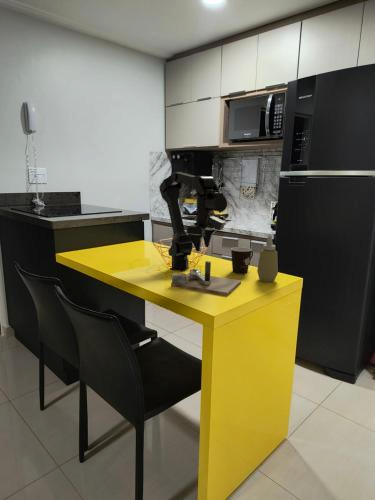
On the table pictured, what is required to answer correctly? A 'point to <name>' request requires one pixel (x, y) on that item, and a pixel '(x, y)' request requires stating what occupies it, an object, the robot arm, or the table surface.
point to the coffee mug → (241, 259)
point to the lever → (197, 274)
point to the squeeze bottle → (268, 262)
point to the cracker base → (216, 287)
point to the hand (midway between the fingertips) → (202, 249)
